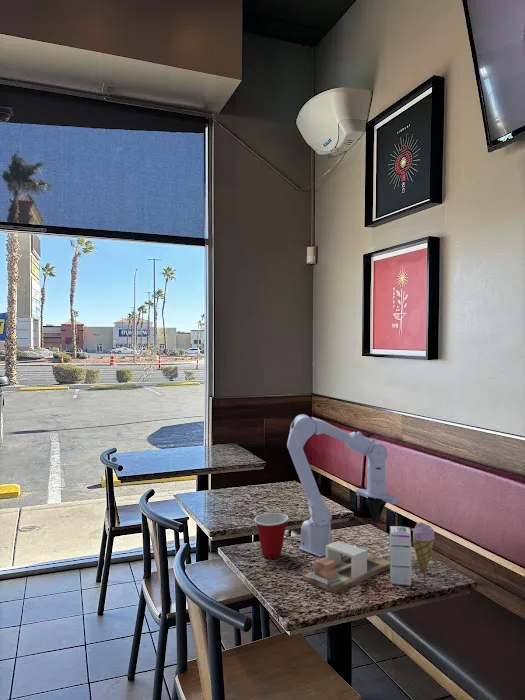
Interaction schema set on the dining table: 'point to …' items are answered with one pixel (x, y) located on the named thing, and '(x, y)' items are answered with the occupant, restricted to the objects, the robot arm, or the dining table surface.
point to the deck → (373, 568)
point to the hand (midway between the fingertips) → (376, 521)
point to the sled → (332, 579)
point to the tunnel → (356, 554)
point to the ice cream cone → (423, 544)
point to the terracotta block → (325, 568)
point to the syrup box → (400, 555)
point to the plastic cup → (271, 533)
